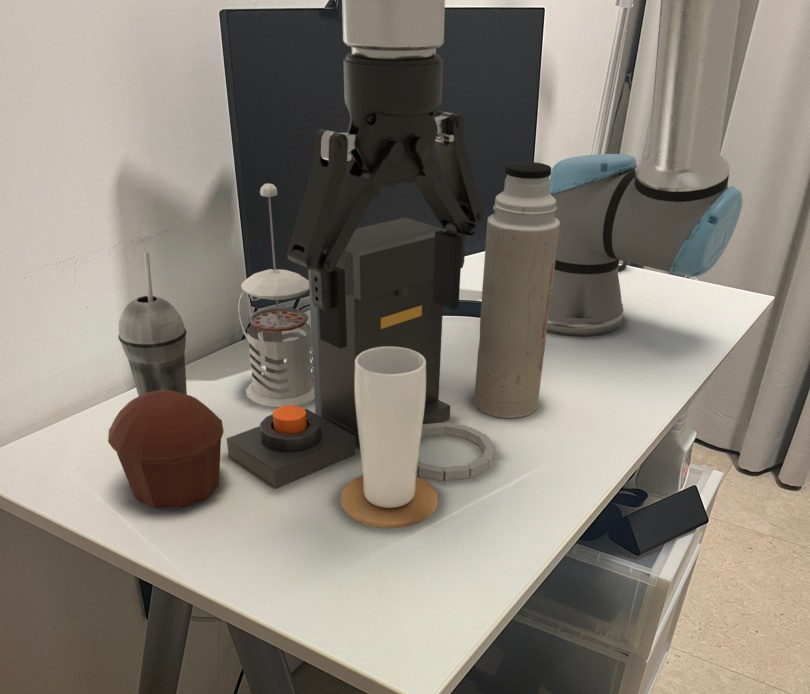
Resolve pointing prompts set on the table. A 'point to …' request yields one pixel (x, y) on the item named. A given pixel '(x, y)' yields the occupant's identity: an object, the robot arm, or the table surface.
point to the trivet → (389, 517)
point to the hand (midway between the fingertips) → (392, 323)
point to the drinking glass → (389, 421)
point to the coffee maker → (389, 330)
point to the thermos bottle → (516, 292)
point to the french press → (278, 336)
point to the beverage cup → (154, 342)
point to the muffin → (168, 448)
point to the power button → (289, 419)
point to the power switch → (290, 449)
